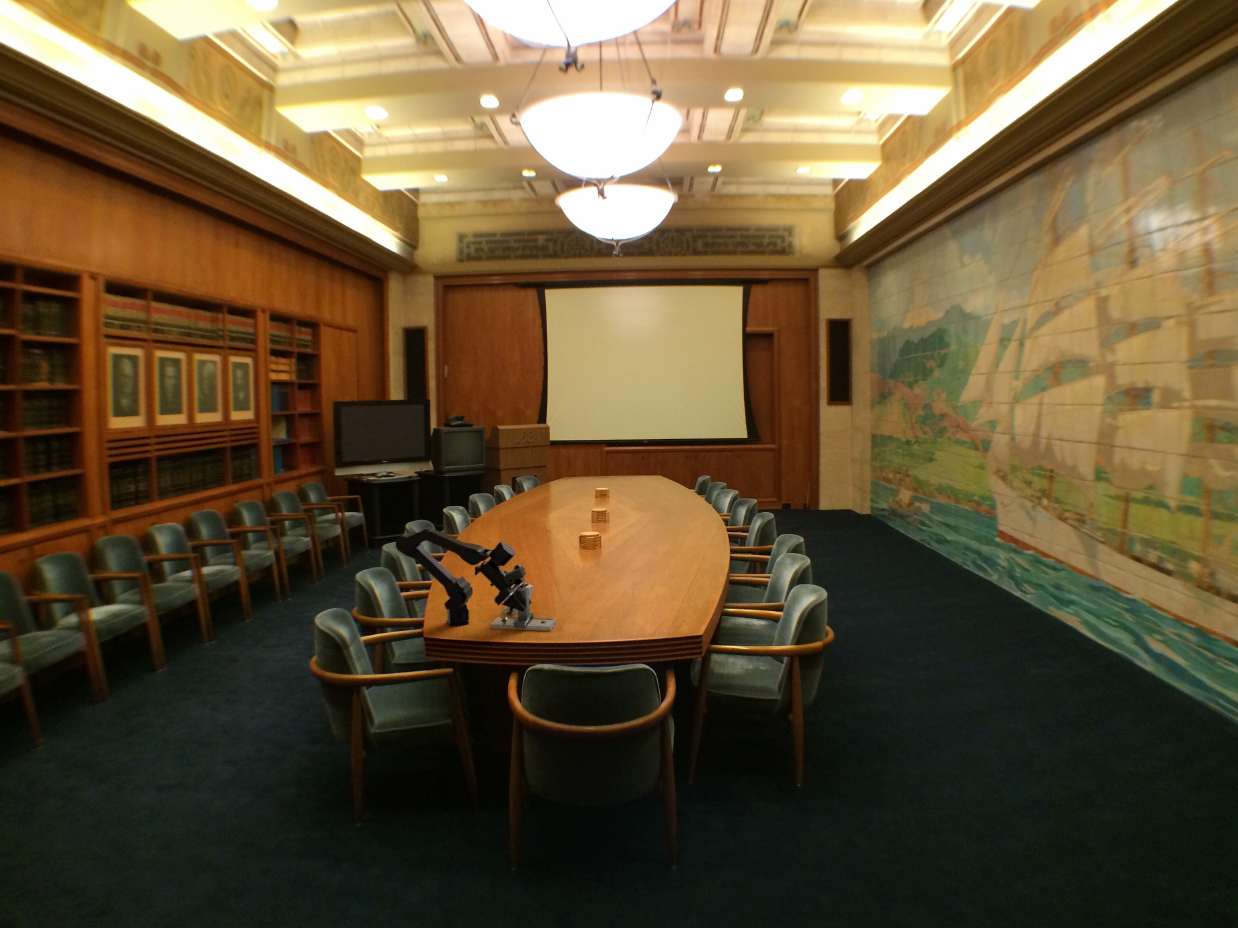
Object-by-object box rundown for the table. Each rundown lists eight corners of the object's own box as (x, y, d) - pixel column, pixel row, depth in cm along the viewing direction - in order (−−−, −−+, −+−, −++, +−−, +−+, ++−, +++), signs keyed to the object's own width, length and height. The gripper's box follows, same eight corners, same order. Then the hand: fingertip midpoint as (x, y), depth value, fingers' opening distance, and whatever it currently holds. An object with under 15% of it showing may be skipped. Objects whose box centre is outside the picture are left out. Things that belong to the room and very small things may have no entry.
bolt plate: (491, 628, 237) (490, 615, 236) (498, 620, 245) (497, 608, 244) (550, 630, 234) (550, 617, 233) (556, 622, 242) (556, 610, 241)
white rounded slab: (517, 600, 268) (525, 577, 267) (528, 604, 268) (536, 581, 266) (501, 614, 252) (509, 589, 250) (513, 619, 251) (521, 594, 250)
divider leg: (514, 627, 234) (513, 593, 233) (522, 617, 245) (521, 584, 243) (525, 628, 234) (524, 593, 233) (533, 618, 244) (532, 584, 243)
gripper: (502, 566, 228) (536, 599, 228) (518, 552, 247) (549, 583, 246) (480, 588, 230) (513, 622, 230) (498, 573, 249) (528, 604, 248)
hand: (527, 607), depth 238 cm, fingers open, 8 cm apart
